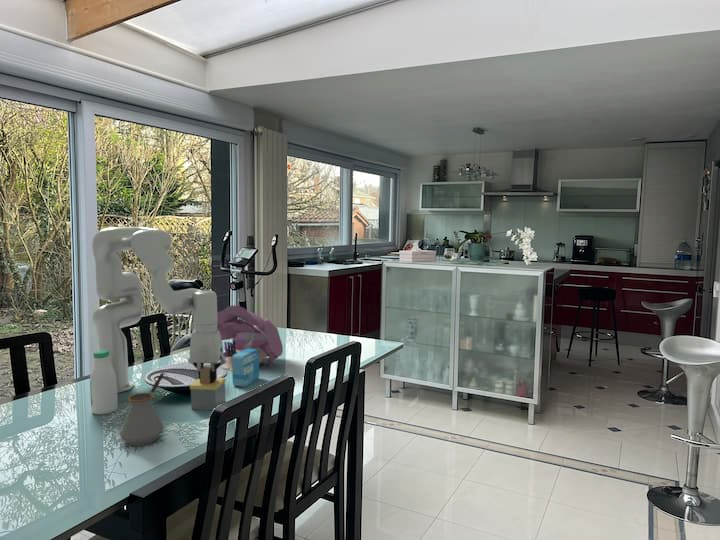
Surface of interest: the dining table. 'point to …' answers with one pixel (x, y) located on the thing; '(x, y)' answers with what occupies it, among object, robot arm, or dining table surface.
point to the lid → (206, 380)
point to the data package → (245, 367)
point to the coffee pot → (142, 419)
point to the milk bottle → (103, 384)
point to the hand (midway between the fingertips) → (207, 381)
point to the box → (207, 398)
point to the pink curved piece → (248, 334)
